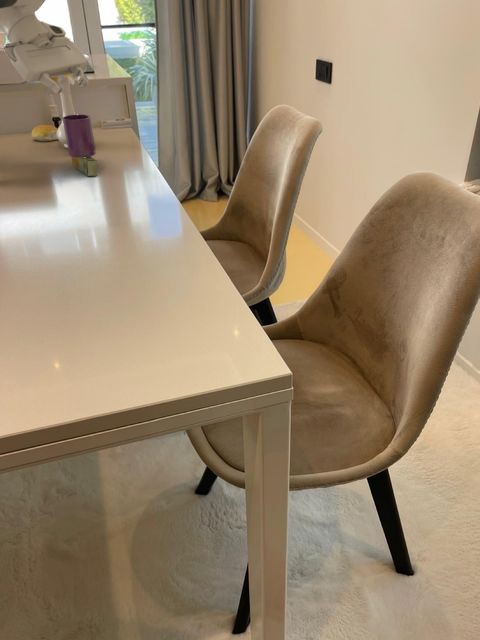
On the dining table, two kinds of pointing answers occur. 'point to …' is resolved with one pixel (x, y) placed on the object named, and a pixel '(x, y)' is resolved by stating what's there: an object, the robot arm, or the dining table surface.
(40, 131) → the bread roll
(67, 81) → the flower vase
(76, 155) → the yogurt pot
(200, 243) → the dining table surface
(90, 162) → the medication box
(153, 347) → the dining table surface
